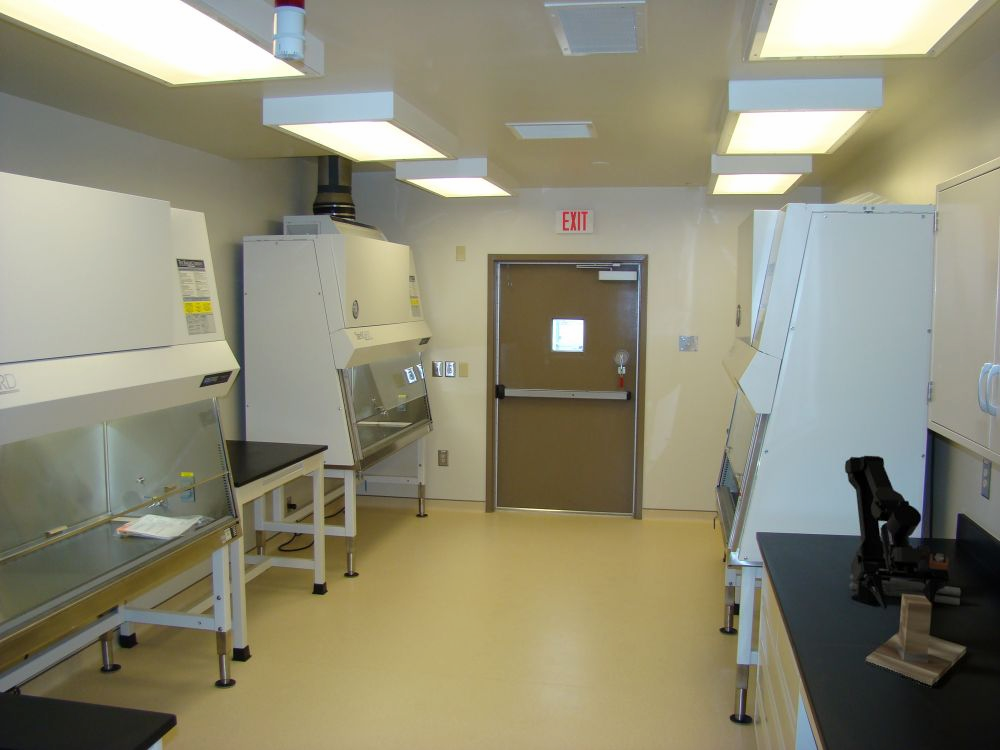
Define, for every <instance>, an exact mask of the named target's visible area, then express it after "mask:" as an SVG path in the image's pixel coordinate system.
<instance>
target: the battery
mask: <svg viewBox="0 0 1000 750" xmlns="http://www.w3.org/2000/svg"><path fill="white" fill-rule="evenodd" d="M949 559H950V558H949V557H948V556H944V554H943V553H939V552H938V553H936V554H933V553H931V554H930V559H929V567H938V568H946V569H947V570H948V571H949V565H950V564H949V563H950V562H949V561H950V560H949ZM929 567H928V568H929ZM946 586H948V584H947V585H946ZM936 594H938V595H945V596H947V594H941V593H936Z"/></svg>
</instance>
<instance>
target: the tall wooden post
mask: <svg viewBox="0 0 1000 750" xmlns="http://www.w3.org/2000/svg"><path fill="white" fill-rule="evenodd" d="M900 602H901V604H900V617H899V618H900V619H899V629H898V630H899V631H898V632H899V641H898V642H897V651H898V653H899V654H900V656H901V657H902V659H903V661H912V662H922V663H928V657H929V654H928V644H929V635H930V632H931V621H932V619H931V618H932V613H931V608H932V604H931V603H930V602H929V601H928V599H927V598H926V597H925V596H919V595H908V594H902V597H901V601H900Z"/></svg>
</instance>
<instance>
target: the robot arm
mask: <svg viewBox="0 0 1000 750" xmlns="http://www.w3.org/2000/svg"><path fill="white" fill-rule="evenodd" d="M844 470H845V471H844V472H845V474H846V475H847V480H848V482H849V484H850V485H851V486H852V487H853V489H854V490H855V493H856V502H857V513H858V522H859V531H860V541H861V542H860V544H859V546H858V547H857V549H856V552H855V556H854V558H853V560H852V561H851V563H850V574H851V575H853V576H854V577H855V579H856V581H858V582H856V583H857V590H856V593H855V594H853V595H852V596H851V598H850V599H851V600H853V601H857V602H861V603H864V604H868V605H871V606H874V607H878V606H881V607H882V609H883V610H884V611H885V610H887V608H888V607H887V599H886V595H884V590H883V587H884V586H883V585H882V580H883V581H890V579H891V578H898V579H910V580H911V581H921V582H922V583H924V585H925V588H924V591H923V592H924V594H925V597H926V598H927V599H928V601H929V602H930V603H931V604H932V608H931V614H932V613H933V609H934V604H935V602H934V599H935V595H936V592H937V591H939V590H940V589H942V588H944V587H945V586H946V585H947V586H948V585H949V582H950V581H951V579H952V577H951V574H950V573H951V572H950V571H949V569H948V570H947V569H946V568H938V567H928V568H927V569H926V570H925V571H918V570H917V571H915V568H916V569H918V568H919V564H922V561H923V562H924V561H925V562H926V561H930V555H931V554H930V549H929V546H928V545H918V546H916V548H915V547H913V545H911V541H910V537H911V536H912V535H913V533H914V532H915V530H916V529H917V527H918V526H919V524H920V523H921V521H922V514H921V513H920V512H919V510H918V509H917V508H916V507H914V506H912V505H910V503H909V502H910V501H909V500H905V498H904V497H903V495H902V493H899V492H897V490H895V489H894V488H893V485H892V483H891V480H890V478H889V475H888V473H887V471H886V468H885V460H884V458H883V457H881V456H878V455H864V456H860V457H859V456H858V457H857V456H850V457H849V459H847V460H846V461H845V464H844ZM879 522H885V523H883V524H882V525H881V527H880V525H879V524H880V523H879Z"/></svg>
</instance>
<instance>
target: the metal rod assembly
mask: <svg viewBox="0 0 1000 750" xmlns="http://www.w3.org/2000/svg"><path fill="white" fill-rule="evenodd" d="M849 579H850V580H851V582H850V583H849V588H850V590H852V591H857V582H858V581H856V579H855V577H854V576H853V575H852V574H851V575H849ZM882 586H883V590H884V594H885V596H886V595H887V597H892V596H894V597H893V598H895V597H899V598H902V594H908V595H919V596H925V594H924V588H925V585H924V582H919V581H918V582H917V581H912V580H911V581H904V580H897V579H896V578H891V579H890V581H883V580H882ZM961 592H962V591H961V588H960V587H954V586H948V585H947V586H945V587H944V588H942V589H940V590H939V591H937V592H936V593H941V594H946V596H945V595H938V594H936V595H935V599H934V603H939V604H947V605H953V606H960V604H961V603H960V600H961V599H960V596H961Z"/></svg>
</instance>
